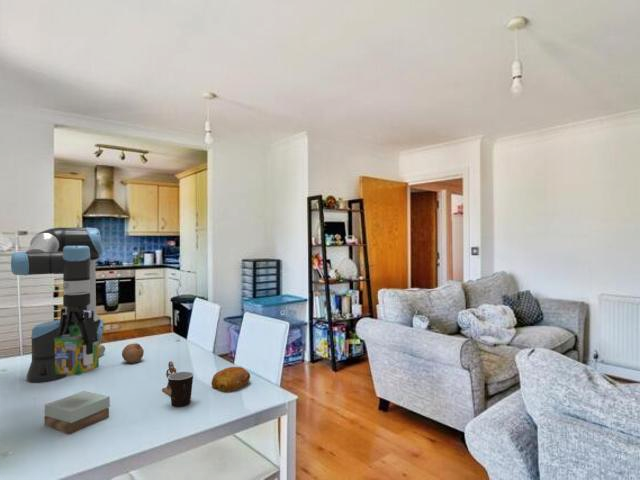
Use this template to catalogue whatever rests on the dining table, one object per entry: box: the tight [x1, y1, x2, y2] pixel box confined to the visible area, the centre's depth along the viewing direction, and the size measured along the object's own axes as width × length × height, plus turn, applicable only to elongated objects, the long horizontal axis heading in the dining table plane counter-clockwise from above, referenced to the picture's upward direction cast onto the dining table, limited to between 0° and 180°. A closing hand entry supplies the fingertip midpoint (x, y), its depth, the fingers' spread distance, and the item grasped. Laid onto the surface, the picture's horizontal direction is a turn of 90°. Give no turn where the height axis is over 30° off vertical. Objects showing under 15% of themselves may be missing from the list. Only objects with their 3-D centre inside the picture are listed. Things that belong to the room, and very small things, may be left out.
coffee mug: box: [167, 371, 194, 408], centre depth 142 cm, size 12×9×10 cm
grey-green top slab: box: [44, 390, 111, 423], centre depth 130 cm, size 13×13×4 cm
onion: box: [121, 342, 145, 364], centre depth 192 cm, size 10×9×10 cm
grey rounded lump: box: [99, 343, 106, 357], centre depth 202 cm, size 11×8×10 cm
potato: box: [210, 366, 251, 393], centre depth 161 cm, size 14×16×8 cm
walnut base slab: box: [43, 407, 110, 435], centre depth 130 cm, size 13×13×4 cm
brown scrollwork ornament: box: [161, 360, 177, 397], centre depth 154 cm, size 9×4×12 cm, turn 43°
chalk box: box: [54, 324, 100, 376], centre depth 130 cm, size 9×9×15 cm
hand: (77, 361), depth 130 cm, fingers closed on chalk box, 10 cm apart
